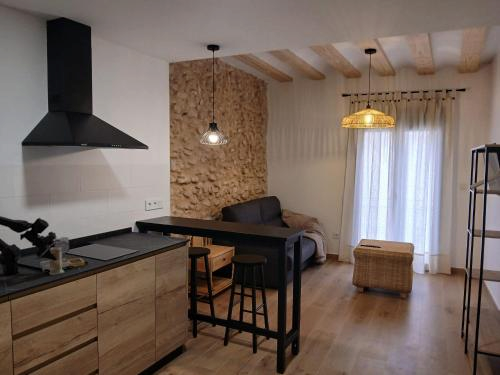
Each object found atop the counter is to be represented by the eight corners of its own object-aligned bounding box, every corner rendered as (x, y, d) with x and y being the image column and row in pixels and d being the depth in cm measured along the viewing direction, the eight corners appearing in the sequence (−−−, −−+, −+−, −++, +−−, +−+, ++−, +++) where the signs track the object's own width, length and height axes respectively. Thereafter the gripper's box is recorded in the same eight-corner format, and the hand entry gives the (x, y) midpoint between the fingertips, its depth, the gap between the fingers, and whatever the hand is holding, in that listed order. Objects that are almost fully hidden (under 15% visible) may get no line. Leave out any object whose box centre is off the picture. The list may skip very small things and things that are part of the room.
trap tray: (70, 267, 223) (69, 264, 223) (66, 263, 231) (66, 259, 231) (84, 265, 228) (84, 262, 228) (80, 261, 236) (80, 258, 236)
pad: (50, 275, 209) (50, 274, 209) (48, 271, 215) (48, 270, 215) (64, 272, 213) (64, 271, 213) (62, 269, 219) (62, 268, 219)
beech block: (50, 272, 211) (49, 249, 210) (52, 270, 216) (51, 247, 215) (60, 272, 212) (59, 249, 211) (62, 269, 217) (61, 247, 216)
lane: (42, 271, 215) (42, 266, 215) (40, 266, 223) (40, 261, 223) (69, 267, 223) (68, 262, 223) (65, 263, 231) (65, 258, 231)
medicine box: (63, 249, 263) (63, 236, 262) (69, 249, 262) (68, 237, 261) (54, 252, 255) (54, 239, 255) (60, 252, 254) (59, 239, 253)
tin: (68, 252, 256) (68, 239, 255) (70, 253, 254) (70, 240, 253) (44, 256, 244) (44, 243, 243) (46, 257, 242) (46, 244, 241)
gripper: (42, 231, 202) (65, 251, 206) (50, 225, 220) (71, 243, 224) (25, 247, 200) (49, 266, 204) (35, 239, 218) (57, 257, 222)
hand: (58, 257), depth 214 cm, fingers open, 9 cm apart
